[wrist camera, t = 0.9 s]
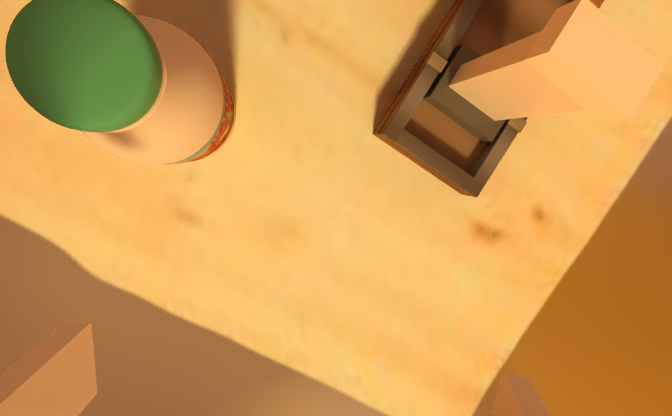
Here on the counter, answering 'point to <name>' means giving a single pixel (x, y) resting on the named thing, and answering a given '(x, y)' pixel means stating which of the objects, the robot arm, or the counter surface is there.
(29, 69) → the milk bottle
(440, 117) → the fader rail
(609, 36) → the fader knob
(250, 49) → the counter surface
